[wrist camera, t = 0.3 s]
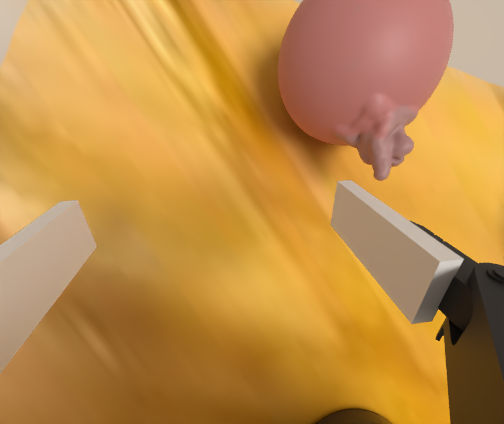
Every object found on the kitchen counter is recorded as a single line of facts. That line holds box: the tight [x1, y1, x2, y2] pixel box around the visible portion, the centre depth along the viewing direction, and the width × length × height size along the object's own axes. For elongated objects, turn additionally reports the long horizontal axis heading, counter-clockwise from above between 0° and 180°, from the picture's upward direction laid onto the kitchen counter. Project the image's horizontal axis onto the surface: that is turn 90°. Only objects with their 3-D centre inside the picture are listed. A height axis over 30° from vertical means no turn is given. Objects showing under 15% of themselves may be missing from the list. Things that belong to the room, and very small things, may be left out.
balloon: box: [278, 0, 453, 181], centre depth 23 cm, size 15×20×15 cm
